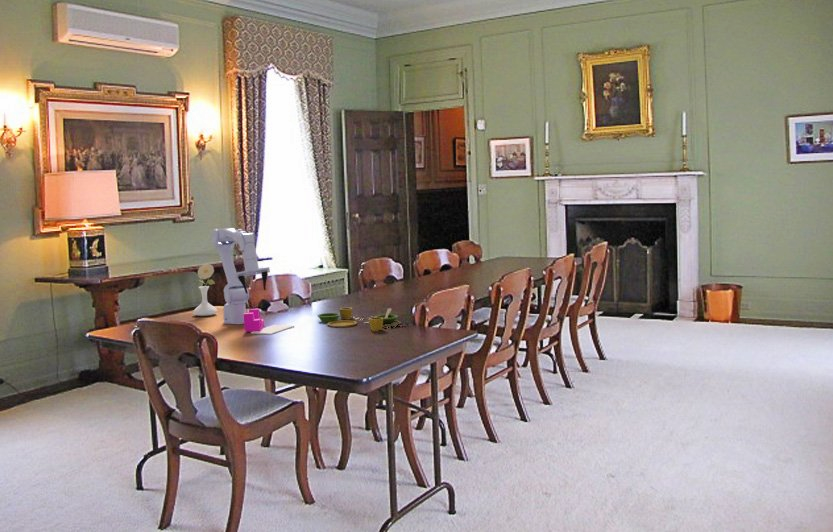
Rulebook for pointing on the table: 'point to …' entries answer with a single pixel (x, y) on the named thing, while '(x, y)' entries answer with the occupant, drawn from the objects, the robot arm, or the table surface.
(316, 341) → the table surface
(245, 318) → the toy block
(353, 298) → the table surface
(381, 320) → the tableware set
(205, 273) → the flower in vase
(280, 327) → the mat
